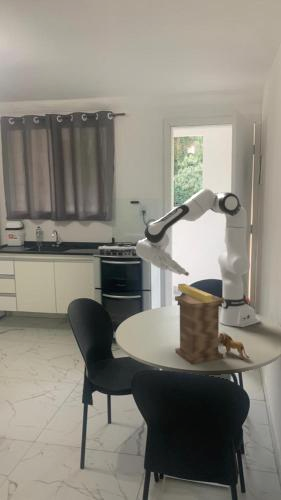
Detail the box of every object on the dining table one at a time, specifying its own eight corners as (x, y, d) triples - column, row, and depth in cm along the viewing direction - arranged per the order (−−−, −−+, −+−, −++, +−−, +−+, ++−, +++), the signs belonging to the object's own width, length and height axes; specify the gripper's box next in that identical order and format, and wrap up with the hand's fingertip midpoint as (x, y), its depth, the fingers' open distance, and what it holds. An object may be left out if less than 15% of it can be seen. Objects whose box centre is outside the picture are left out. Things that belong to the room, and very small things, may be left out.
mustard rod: (183, 289, 185) (183, 283, 185) (212, 302, 163) (212, 295, 163) (178, 290, 184) (178, 284, 184) (205, 302, 162) (206, 295, 162)
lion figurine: (215, 352, 176) (216, 333, 175) (221, 349, 180) (221, 330, 179) (246, 361, 167) (247, 340, 165) (252, 356, 171) (252, 337, 169)
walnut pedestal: (205, 346, 183) (205, 292, 180) (223, 357, 170) (223, 299, 167) (175, 352, 177) (174, 296, 173) (191, 364, 164) (191, 304, 161)
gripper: (160, 249, 188) (185, 262, 183) (170, 259, 207) (193, 271, 202) (154, 261, 188) (178, 274, 182) (165, 269, 207) (187, 281, 201)
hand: (186, 273), depth 192 cm, fingers open, 8 cm apart
